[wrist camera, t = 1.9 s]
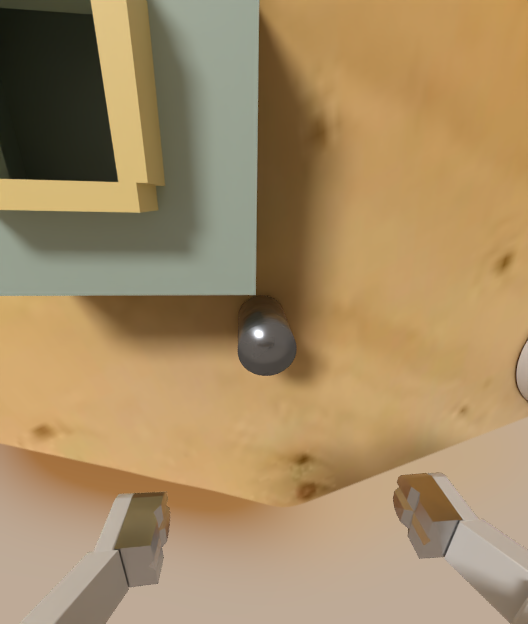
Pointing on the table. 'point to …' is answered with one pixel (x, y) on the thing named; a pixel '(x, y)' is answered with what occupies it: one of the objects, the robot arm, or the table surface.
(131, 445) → the table surface
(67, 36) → the box with square opening
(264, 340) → the cylinder
